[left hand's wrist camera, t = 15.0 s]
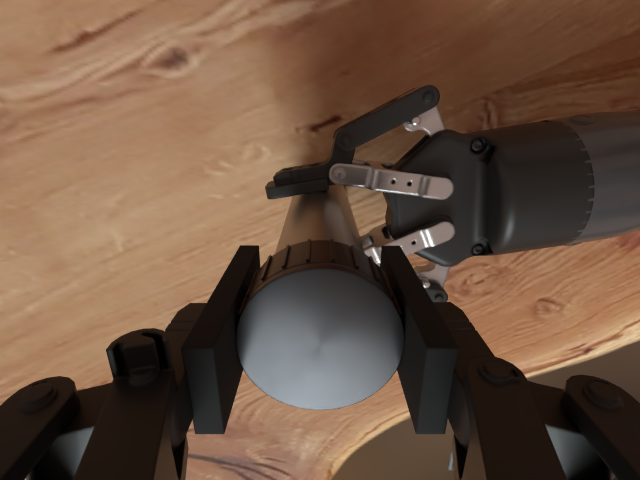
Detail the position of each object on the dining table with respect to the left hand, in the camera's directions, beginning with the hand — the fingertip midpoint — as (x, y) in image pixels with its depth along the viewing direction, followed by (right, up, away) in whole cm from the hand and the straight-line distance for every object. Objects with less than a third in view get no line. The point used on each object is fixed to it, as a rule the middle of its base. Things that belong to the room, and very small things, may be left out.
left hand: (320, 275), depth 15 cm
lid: (0, -1, -4) cm, 4 cm away
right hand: (-3, +2, +7) cm, 8 cm away
